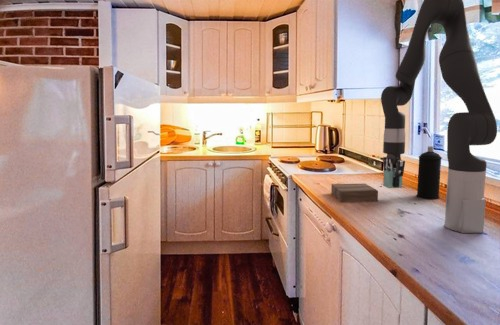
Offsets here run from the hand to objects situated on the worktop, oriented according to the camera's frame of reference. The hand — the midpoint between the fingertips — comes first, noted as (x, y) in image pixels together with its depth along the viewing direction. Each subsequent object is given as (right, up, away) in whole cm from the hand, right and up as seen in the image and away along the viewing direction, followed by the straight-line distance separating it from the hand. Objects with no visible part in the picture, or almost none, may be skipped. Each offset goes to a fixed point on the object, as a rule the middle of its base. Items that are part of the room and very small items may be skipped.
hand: (392, 185), depth 138 cm
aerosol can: (+16, -5, +6) cm, 18 cm away
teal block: (0, -1, 0) cm, 0 cm away
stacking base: (-13, -5, +7) cm, 15 cm away
